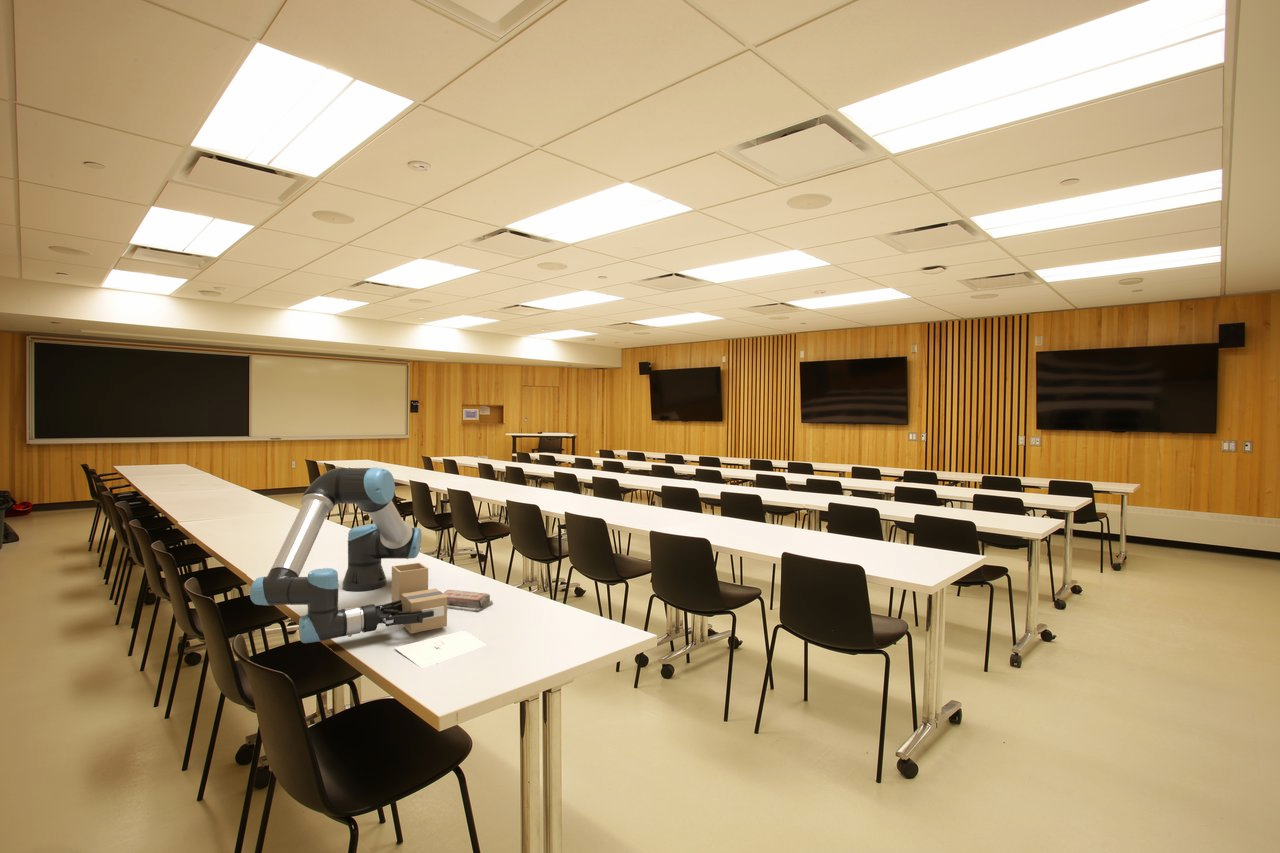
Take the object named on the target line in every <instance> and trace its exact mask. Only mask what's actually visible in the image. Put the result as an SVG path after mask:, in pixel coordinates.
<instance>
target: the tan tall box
mask: <svg viewBox="0 0 1280 853" xmlns="http://www.w3.org/2000/svg"><path fill="white" fill-rule="evenodd" d="M423 590H429V567H427V566H426V565H424V564H423V563H421V562H415V563H414V562H413V563H407V564H399V565H392V566H391V602H395V601H398V600H401V594H404V593H411V592H417V591H423Z"/></svg>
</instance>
